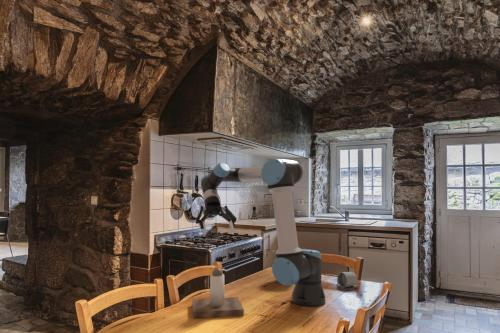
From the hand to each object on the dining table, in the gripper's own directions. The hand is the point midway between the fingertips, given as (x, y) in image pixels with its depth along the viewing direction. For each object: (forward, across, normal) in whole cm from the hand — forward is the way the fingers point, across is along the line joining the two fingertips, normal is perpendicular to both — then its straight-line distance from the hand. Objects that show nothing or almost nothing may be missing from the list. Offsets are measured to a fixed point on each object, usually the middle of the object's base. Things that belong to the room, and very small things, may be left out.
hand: (219, 233), depth 168 cm
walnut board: (+32, +5, -10) cm, 34 cm away
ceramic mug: (+23, -68, -19) cm, 74 cm away
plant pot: (+9, -43, -33) cm, 55 cm away
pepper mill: (+30, +5, -8) cm, 32 cm away
